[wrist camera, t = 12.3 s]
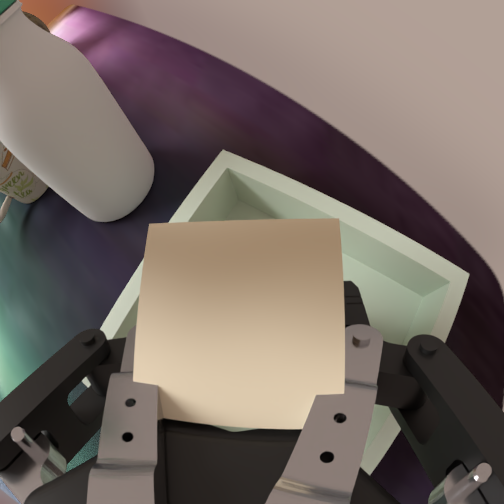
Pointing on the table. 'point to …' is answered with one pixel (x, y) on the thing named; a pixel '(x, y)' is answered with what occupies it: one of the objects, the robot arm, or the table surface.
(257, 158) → the table surface
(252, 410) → the birch block
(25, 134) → the milk bottle
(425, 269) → the bin
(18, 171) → the mug
